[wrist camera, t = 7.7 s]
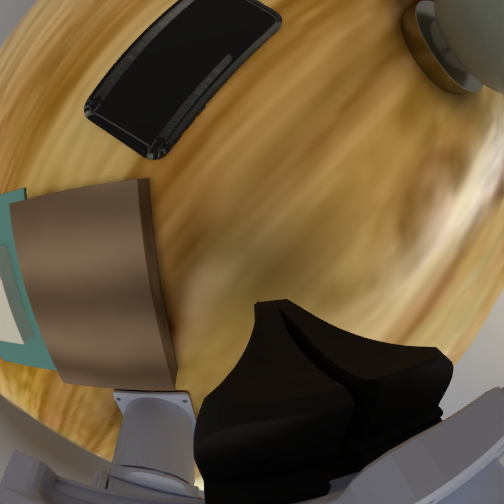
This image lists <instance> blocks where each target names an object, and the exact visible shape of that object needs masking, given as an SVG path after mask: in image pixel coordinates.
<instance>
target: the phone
mask: <svg viewBox="0 0 504 504" xmlns="http://www.w3.org/2000/svg"><path fill="white" fill-rule="evenodd" d="M281 24H282V17H281V16H280V14H279V13H277V12H276V11H274V10H273V9H271V8H269V7H268V6H266V5H264V4H263V3H261V2H259V1H257V0H178V1H177V2H176V3H175V4H174V5H172V6H171V7H170V8H169V9H168V10H166V11H165V12H164V13H163V14H162V15H161V16H160V17H159V18H158V19H156V20H155V21H154V22H153V23H152V24H151V25H150V26H149V27H148V28H147V29H146V30H145V31H144V32H143V33H142V34H141V35H140V36H139V37H138V38H137V39H136V40H135V41H134V42H133V43H132V44H131V46H130V47H129V48H128V49H127V50H126V51H125V52H124V53H123V54H122V56H121V57H120V58H119V59H118V60H117V61H116V63H115V64H114V65H113V66H112V67H111V69H110V70H109V71H108V72H107V74H106V75H105V76H104V77H103V79H102V80H101V81H100V83H99V84H98V85H97V87H96V88H95V89H94V91H93V92H92V94H91V95H90V96H89V98H88V99H87V101H86V103H85V106H84V114H85V116H86V117H87V118H88V119H89V120H90V121H92V122H93V123H95V124H96V125H98V126H99V127H100V128H102V129H103V130H105V131H106V132H108V133H109V134H111V135H112V136H114V137H115V138H117V139H118V140H120V141H121V142H123V143H124V144H125V145H127V146H128V147H130V148H131V149H133V150H134V151H136V152H137V153H139V154H140V155H142V156H143V157H145V158H147V159H153V160H156V159H160V158H162V157H164V156H165V155H166V154H167V153H168V152H169V151H170V149H171V148H172V147H173V145H174V144H175V142H177V141H178V140H179V138H180V137H181V135H182V133H183V132H184V131H185V129H187V128H188V127H189V126H190V124H191V123H192V122H193V121H194V119H195V117H196V116H197V115H199V114H200V113H201V111H202V110H203V109H204V108H205V105H206V103H207V102H208V101H209V100H210V99H211V98H212V96H213V95H214V94H215V93H216V92H217V91H218V90H219V89H220V87H221V86H222V85H223V84H224V83H225V82H226V81H227V80H228V79H229V78H230V77H231V75H232V74H233V73H234V72H235V71H236V70H237V69H238V68H239V67H240V66H241V65H242V64H243V63H244V62H245V61H246V60H247V59H248V58H249V57H250V56H251V55H252V54H253V53H254V52H255V51H256V50H257V49H258V48H259V47H260V46H261V45H262V44H263V43H265V42H266V41H267V40H268V39H269V38H270V37H271V36H272V35H273V34H274V33H276V32H277V31H278V29H279V28H280V26H281Z"/></svg>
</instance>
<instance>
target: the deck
mask: <svg viewBox="0 0 504 504" xmlns="http://www.w3.org/2000/svg"><path fill="white" fill-rule="evenodd" d="M9 208H10V216H11V224H12V230H13V236H14V242H15V247H16V252H17V257H18V261H19V266H20V270H21V274H22V278H23V282H24V285H25V289H26V292H27V295H28V299H29V302H30V305H31V308H32V311H33V314H34V317H35V319H36V322H37V325H38V328H39V330H40V333H41V335H42V338H43V340H44V343H45V345H46V347H47V350H48V352H49V354H50V356H51V359H52V361H53V363H54V365H55V367H56V369H57V371H58V373H59V375H60V377H61V379H62V381H63V383H69V384H76V385H83V386H92V387H101V388H113V389H128V390H155V391H175V384H176V376H177V368H178V367H177V363H176V359H175V355H174V350H173V346H172V342H171V337H170V332H169V327H168V322H167V317H166V312H165V307H164V301H163V296H162V290H161V284H160V277H159V271H158V264H157V256H156V249H155V241H154V232H153V222H152V212H151V201H150V187H149V178H144V179H134V180H127V181H120V182H113V183H106V184H100V185H94V186H88V187H82V188H77V189H72V190H66V191H61V192H56V193H52V194H47V195H43V196H38V197H34V198H30V199H26V200H22V201H18V202H14V203H10V204H9Z"/></svg>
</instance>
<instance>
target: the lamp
mask: <svg viewBox="0 0 504 504" xmlns="http://www.w3.org/2000/svg"><path fill="white" fill-rule="evenodd" d="M401 26H402V31H403V35H404V38H405V41H406V43H407V45H408V47H409V49H410V51H411V53H412V55H413V57H414V58H415V60H416V61H417V63H418V64H419V66H420V67H421V68H422V70H423V71H424V72H425V73H426V74H427V76H428V77H429V78H430V79H431V80H432V81H433V82H434V83H435V84H436V85H438V86H439V87H440V88H442V89H443V90H445V91H446V92H448V93H451V94H456V95H459V94H465V93H471V92H477V91H479V90H480V89H481V87H482V85H483V84H484V85H485V86H487V87H489V88H490V89H492V90H494V91H496V92H498V93H501V94H503V95H504V0H434V2H432V1H428V0H424V1H420V2H419V3H417V4H415V5H414V6H412V7H410V8H409V9H407V10H406V11H405V12H404V13H403V15H402V19H401Z"/></svg>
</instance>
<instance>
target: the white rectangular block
mask: <svg viewBox="0 0 504 504" xmlns="http://www.w3.org/2000/svg"><path fill="white" fill-rule="evenodd" d="M32 335H33V331H32V329H31V326H30V323H29V321H28V318H27V315H26V312H25V309H24V306H23V303H22V300H21V297H20V294H19V290H18V287H17V283H16V280H15V276H14V272H13V268H12V264H11V260H10V255H9V250H8V245H4V246H0V341H6V342H11V343H18V344H25V343H26V342H27V341H28V340H29V339H30V337H31V336H32Z"/></svg>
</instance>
